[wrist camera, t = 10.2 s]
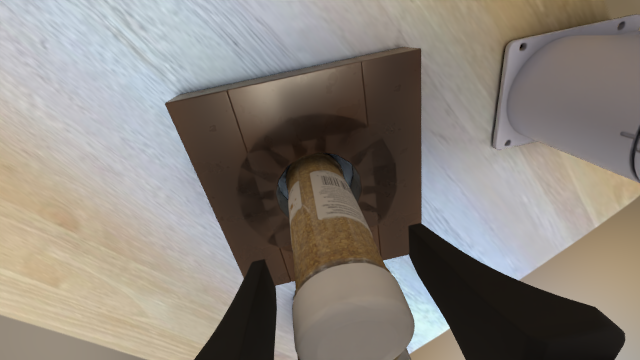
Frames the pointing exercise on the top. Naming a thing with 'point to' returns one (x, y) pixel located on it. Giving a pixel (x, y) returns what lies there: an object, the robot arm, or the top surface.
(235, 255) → the holder
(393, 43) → the top surface
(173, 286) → the top surface
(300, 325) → the sprinkles bottle
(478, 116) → the top surface
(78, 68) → the top surface
